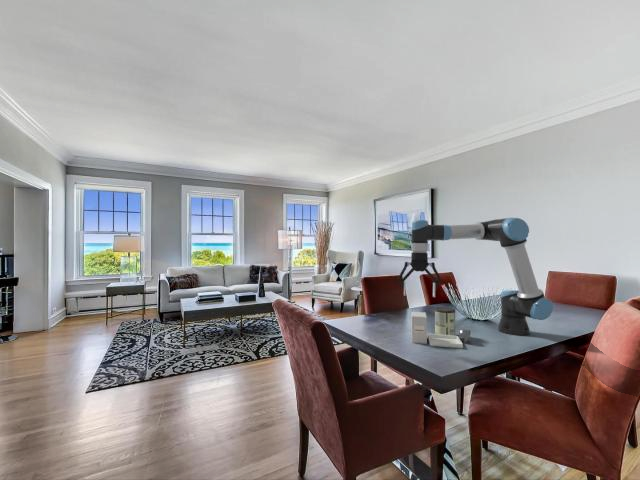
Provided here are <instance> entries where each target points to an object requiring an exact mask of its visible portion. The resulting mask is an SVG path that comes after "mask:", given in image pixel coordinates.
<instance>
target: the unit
mask: <svg viewBox="0 0 640 480" xmlns="http://www.w3.org/2000/svg"><path fill="white" fill-rule="evenodd" d="M410 317H411V318H410V319H411V321H410V323H411V329H410V331H411V332H410V333H411V344H413V343H414V344H425V345H427V344H428V323H427V322H428V320H427V319H428V317H427V313H426V312H425V311H424V312H420V311H411V315H410Z"/></svg>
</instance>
